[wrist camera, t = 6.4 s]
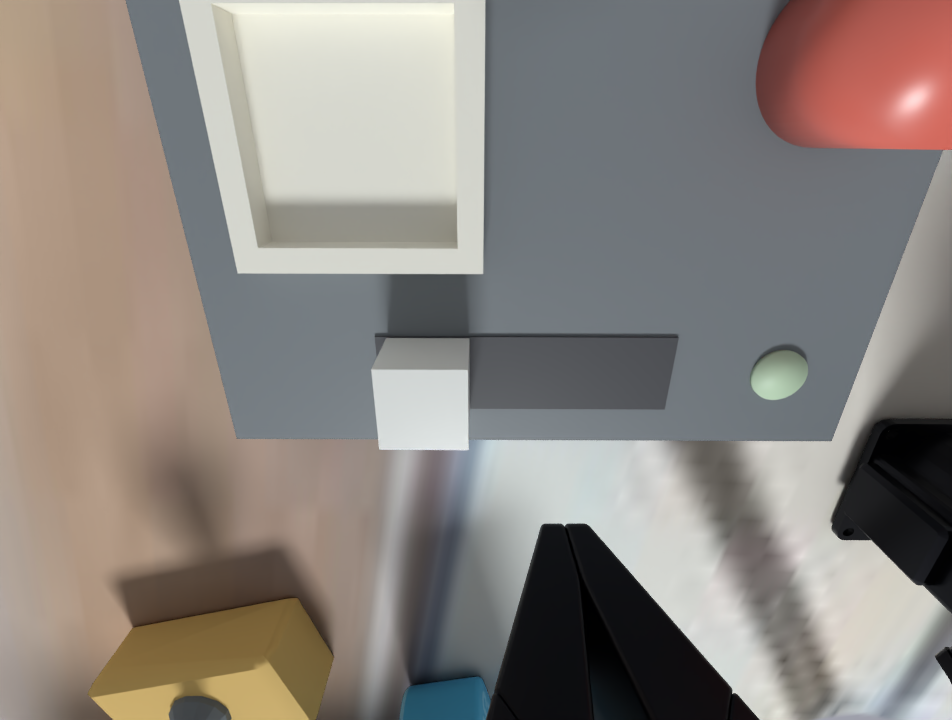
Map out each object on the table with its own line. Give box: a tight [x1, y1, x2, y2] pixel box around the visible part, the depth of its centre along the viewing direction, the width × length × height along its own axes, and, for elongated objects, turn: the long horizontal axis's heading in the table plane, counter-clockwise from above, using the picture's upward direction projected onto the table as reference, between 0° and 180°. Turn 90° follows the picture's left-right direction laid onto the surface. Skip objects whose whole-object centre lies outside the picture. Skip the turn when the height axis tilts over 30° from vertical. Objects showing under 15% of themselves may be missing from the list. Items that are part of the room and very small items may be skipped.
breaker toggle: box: [371, 338, 470, 450], centre depth 16 cm, size 3×3×3 cm
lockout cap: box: [756, 0, 952, 150], centre depth 11 cm, size 4×4×4 cm
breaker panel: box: [126, 0, 943, 441], centre depth 15 cm, size 24×17×3 cm
